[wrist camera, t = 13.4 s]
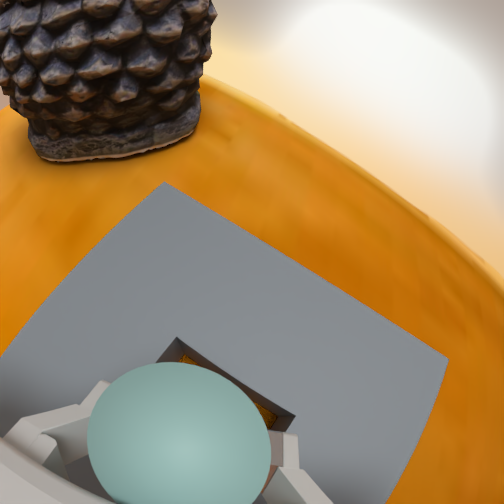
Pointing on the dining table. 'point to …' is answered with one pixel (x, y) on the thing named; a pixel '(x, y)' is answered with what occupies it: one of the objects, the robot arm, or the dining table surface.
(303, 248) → the dining table surface
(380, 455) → the cutout board
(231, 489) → the peg
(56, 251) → the dining table surface
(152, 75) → the decorative house
